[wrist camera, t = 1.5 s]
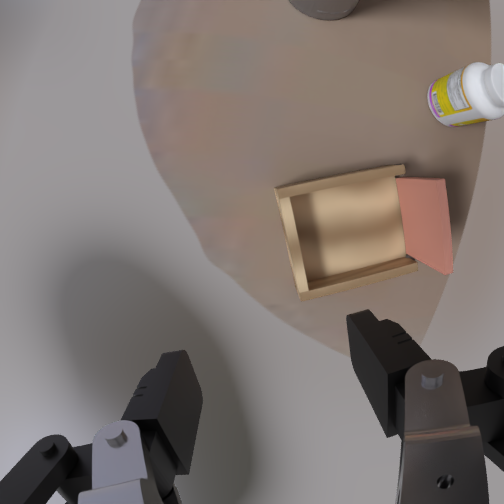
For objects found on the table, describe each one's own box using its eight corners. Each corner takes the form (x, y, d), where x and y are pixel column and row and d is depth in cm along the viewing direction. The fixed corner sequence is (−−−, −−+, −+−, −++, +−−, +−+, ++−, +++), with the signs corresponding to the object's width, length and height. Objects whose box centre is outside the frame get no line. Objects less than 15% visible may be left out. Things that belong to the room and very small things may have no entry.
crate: (274, 187, 36) (277, 189, 32) (393, 164, 35) (410, 163, 31) (295, 287, 39) (301, 301, 34) (407, 259, 38) (424, 268, 33)
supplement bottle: (469, 101, 33) (531, 85, 20) (454, 137, 34) (519, 130, 22) (434, 70, 32) (492, 42, 20) (417, 106, 34) (478, 85, 21)
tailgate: (395, 178, 34) (436, 180, 25) (405, 176, 34) (447, 178, 25) (406, 253, 36) (445, 275, 27) (415, 250, 36) (456, 271, 27)
